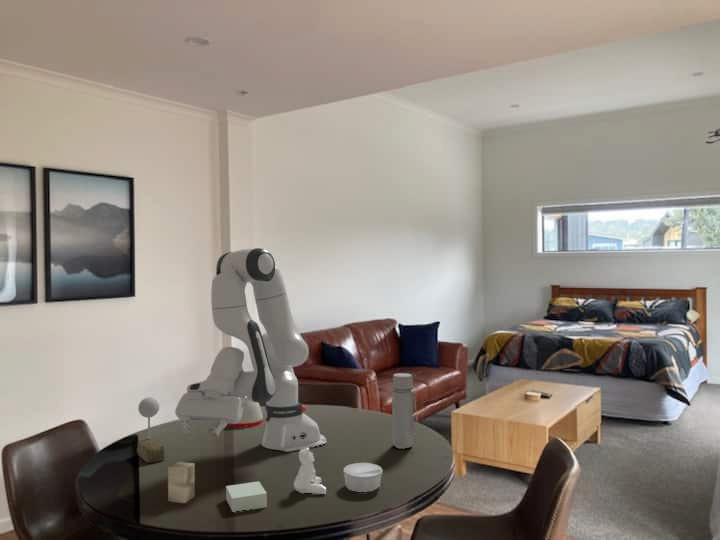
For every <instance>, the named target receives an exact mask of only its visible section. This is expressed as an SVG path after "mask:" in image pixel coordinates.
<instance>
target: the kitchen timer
mask: <svg viewBox="0 0 720 540" xmlns="http://www.w3.org/2000/svg"><path fill="white" fill-rule="evenodd" d="M263 418H264V417H263V412H262V409H261V405H260V403H257V402H246V403H245V405H244V406H243V413H242V417H241V420H240V422H239V423H237V424H230V423H227V426H229V427H231V426H233V427H232V428H237V427H246V428H253V427H257V426H260V425H262V424H263V423H264V419H263Z"/></svg>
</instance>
